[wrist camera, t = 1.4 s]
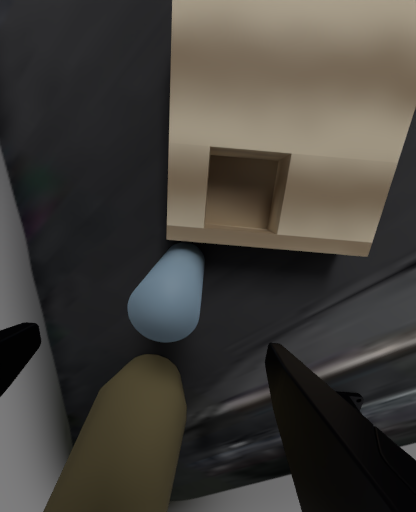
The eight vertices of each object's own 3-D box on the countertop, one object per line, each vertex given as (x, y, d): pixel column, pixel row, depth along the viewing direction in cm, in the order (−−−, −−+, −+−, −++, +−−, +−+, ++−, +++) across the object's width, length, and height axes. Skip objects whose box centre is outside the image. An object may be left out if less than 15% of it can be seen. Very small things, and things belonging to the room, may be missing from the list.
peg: (203, 281, 18) (197, 345, 10) (164, 278, 18) (128, 339, 10) (206, 243, 17) (202, 282, 9) (165, 240, 17) (126, 275, 9)
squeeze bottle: (105, 347, 20) (-563, 1284, 3) (183, 339, 20) (-23, 1392, 2) (125, 407, 22) (-174, 1135, 5) (197, 400, 22) (140, 1176, 5)
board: (340, 246, 17) (367, 256, 14) (174, 232, 17) (166, 239, 14) (396, 45, 13) (449, 1, 10) (181, 25, 13) (173, -25, 10)
